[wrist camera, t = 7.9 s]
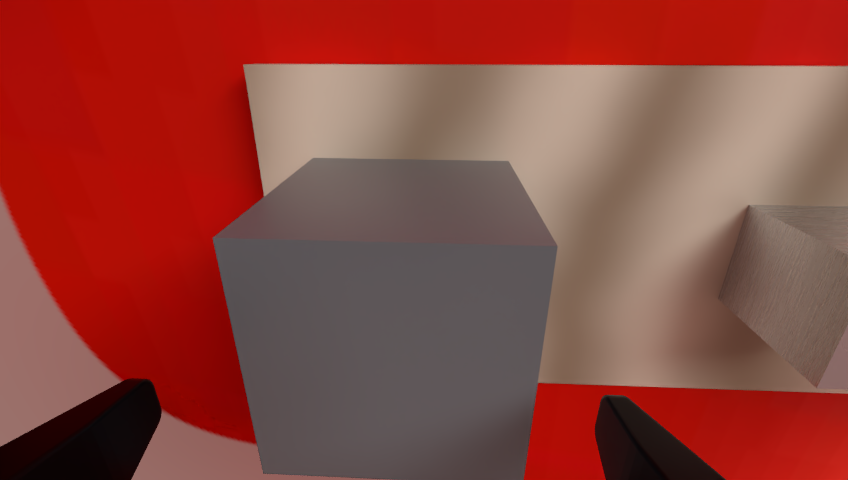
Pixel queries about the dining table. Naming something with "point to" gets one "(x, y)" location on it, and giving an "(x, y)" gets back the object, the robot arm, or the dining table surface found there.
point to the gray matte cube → (391, 318)
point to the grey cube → (795, 286)
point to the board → (599, 186)
